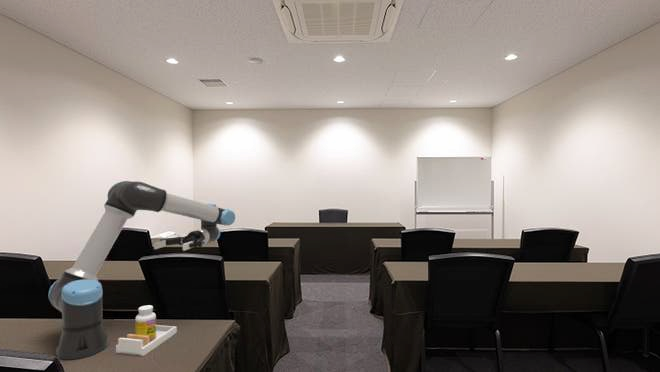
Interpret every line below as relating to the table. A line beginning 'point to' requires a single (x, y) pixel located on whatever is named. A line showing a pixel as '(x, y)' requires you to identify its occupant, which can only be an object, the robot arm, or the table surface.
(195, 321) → the table surface
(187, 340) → the table surface
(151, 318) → the supplement bottle
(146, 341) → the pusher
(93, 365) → the table surface
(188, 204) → the robot arm
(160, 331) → the tray
